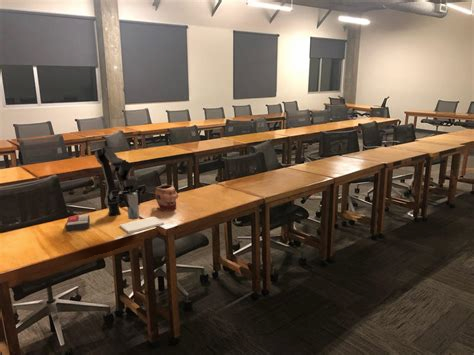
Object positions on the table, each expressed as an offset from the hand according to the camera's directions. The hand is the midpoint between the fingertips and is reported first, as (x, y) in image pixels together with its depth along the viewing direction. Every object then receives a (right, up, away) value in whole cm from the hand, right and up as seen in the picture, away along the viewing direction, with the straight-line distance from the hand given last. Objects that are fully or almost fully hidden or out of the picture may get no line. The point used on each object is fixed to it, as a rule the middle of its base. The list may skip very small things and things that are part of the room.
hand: (133, 206), depth 195 cm
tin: (-1, -6, +3) cm, 7 cm away
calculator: (-33, -12, +12) cm, 37 cm away
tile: (+2, -11, +11) cm, 15 cm away
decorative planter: (+9, -4, +38) cm, 39 cm away
